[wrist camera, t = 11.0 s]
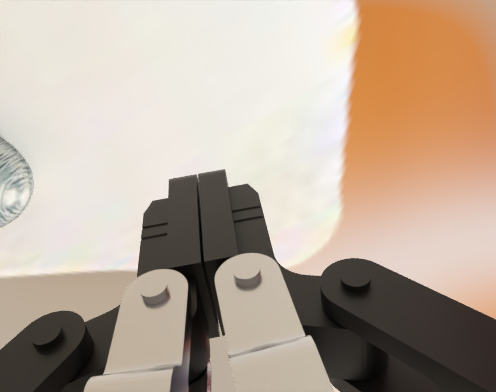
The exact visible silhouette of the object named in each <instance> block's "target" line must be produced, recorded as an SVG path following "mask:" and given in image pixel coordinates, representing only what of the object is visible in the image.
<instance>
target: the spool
mask: <svg viewBox="0 0 496 392" xmlns="http://www.w3.org/2000/svg"><path fill="white" fill-rule="evenodd" d="M33 188H34V181H33V176H32V171H31V169H30V167H29V165H28V163H27V162H26V160H25V159H24V158H23V156H22V155H21V154H20V153H19V152H18V151H17V150H16V149H15V148H14V147H13V146H12V145H11V144H9V143H8V142H7V141H5V140H4V139H2V138H1V137H0V228H1V227H3V226H5V225H7V224H8V223H10V222H12V221H13V220H14V219H16V218H17V217H18V216H19V215H20V214H21V213H22V212H23V210H24V209H25V208H26V207H27V205H28V203H29V201H30V199H31V197H32V194H33Z"/></svg>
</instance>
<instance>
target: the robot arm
mask: <svg viewBox="0 0 496 392" xmlns="http://www.w3.org/2000/svg"><path fill="white" fill-rule="evenodd" d="M198 179H199V181H198ZM142 227H143V230H142V235H141V239H142V240H141V245H140V254H139V263H138V273H137V278H136V279H135V280H133V281H132V282H131V283H130V284H129V285H128V287H127V288H126V290H125V291H124V294H123V296H122V300H121V304H120V305H119V306H118V307H116V308H114V309H113V310H111V311H109V312H107V313H105V314H102V315H100V316H98V317H96V318H93V319H91V320H89V321H87V322H84V320H83V319H82V317H81V316H80V315H78V314H77V313H74V312H71V311H58V312H53V313H49V314H47V315H44V316H42V317H40V318H38V319H37V320H35V321H34V322H32V323H31V324H30V325H28V326H27V327H26V328H25V329H24V330H23V331H21V332H20V333H19V334H18V335H17V336H16V337H15V338H13V339H12V340H11V341H10V342H9V343H8V344H6V345H5V346H4V347H3V348H2V349H1V350H0V392H211V377H212V369H211V363H210V360H209V359H210V344H209V338H214V337H219V335H220V334H219V323H220V327H221V331H222V335H223V336H224V335H225V336H226V341H227V346H228V351H229V361H230V366H231V371H232V376H233V382H234V386H235V391H236V392H334V391H333V388H332V385H333V386H334V387H335V388H336V389H338V390H339V391H340V392H496V320H495V319H493V318H491V317H489V316H487V315H485V314H483V313H481V312H478V311H476V310H474V309H472V308H470V307H468V306H466V305H464V304H462V303H459V302H457V301H455V300H453V299H451V298H449V297H447V296H445V295H442V294H440V293H438V292H436V291H434V290H432V289H430V288H428V287H425V286H423V285H421V284H419V283H417V282H415V281H412V280H411V279H408V278H406V277H404V276H402V275H400V274H398V273H396V272H394V271H391V270H389V269H387V268H385V267H383V266H381V265H379V264H376V263H374V262H372V261H368V260H365V259H358V258H357V259H356V258H351V259H344V260H340V261H337V262H335V263H333V264H331V265H330V266H328V267H327V268H326V269H325V270H324V272H323V274H322V275H321V276H311V275H301V274H297V273H294V272H291V271H289V270H287V269H285V268H284V267H282V266H281V265H280V264H279V263H278V262H277V260H276V259H275V257H274V253H273V250H272V246H271V242H270V238H269V234H268V230H267V226H266V222H265V218H264V214H263V211H262V207H261V203H260V199H259V195H258V193H257V192H256V191H255V190H254V189H253V188H252V187H251V186H249V185H248V184H244V185H238V186H233V187H228V183H227V177H226V172H225V169H223V170H218V171H212V172H206V173H201V174H198V178H197V175H190V176H185V177H179V178H173V179H169V196H168V198H167V199H161V200H155V201H152V203H151V204H150V206H149V207H148V209H147V210H146V211H145V213H144V216H143V226H142ZM218 319H219V323H218ZM330 382H331V383H330ZM331 384H332V385H331Z"/></svg>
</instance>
